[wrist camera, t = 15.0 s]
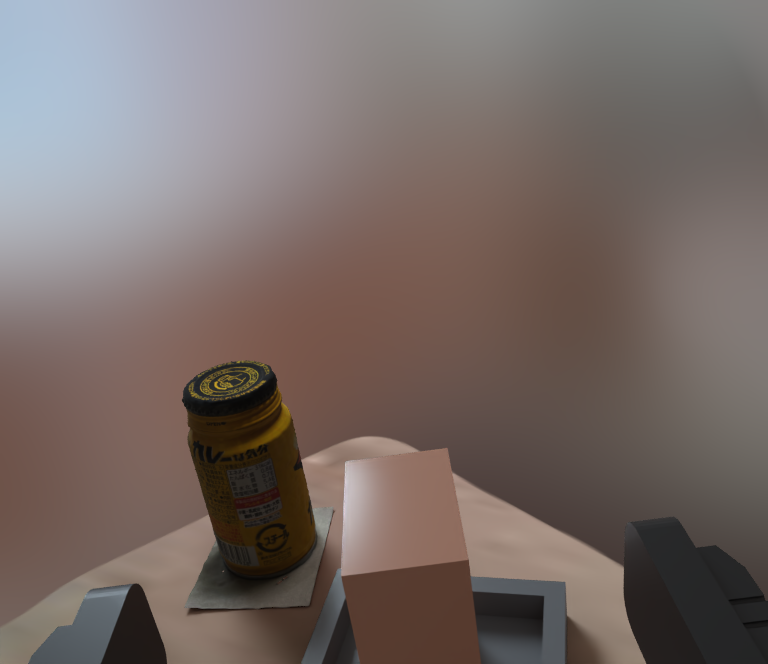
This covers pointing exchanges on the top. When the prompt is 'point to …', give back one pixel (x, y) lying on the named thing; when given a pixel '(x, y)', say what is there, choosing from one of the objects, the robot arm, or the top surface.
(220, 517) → the condiment
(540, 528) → the top surface
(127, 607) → the robot arm
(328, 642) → the tray
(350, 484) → the brick
